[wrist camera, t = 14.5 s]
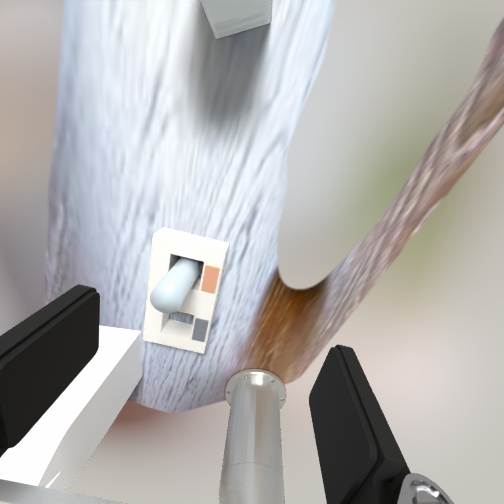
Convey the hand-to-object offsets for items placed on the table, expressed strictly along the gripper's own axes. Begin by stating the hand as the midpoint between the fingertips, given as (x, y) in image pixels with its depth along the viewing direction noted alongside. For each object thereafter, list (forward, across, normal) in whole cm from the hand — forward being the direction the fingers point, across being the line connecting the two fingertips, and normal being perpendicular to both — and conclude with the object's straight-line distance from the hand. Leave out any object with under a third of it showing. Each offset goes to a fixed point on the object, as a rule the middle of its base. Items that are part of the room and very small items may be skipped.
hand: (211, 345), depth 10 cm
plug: (+30, +8, +12) cm, 33 cm away
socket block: (+30, +8, +17) cm, 35 cm away
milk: (+31, +21, +35) cm, 51 cm away
